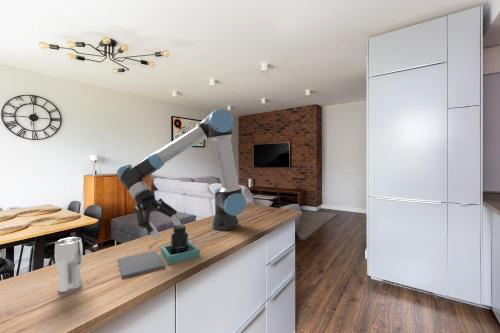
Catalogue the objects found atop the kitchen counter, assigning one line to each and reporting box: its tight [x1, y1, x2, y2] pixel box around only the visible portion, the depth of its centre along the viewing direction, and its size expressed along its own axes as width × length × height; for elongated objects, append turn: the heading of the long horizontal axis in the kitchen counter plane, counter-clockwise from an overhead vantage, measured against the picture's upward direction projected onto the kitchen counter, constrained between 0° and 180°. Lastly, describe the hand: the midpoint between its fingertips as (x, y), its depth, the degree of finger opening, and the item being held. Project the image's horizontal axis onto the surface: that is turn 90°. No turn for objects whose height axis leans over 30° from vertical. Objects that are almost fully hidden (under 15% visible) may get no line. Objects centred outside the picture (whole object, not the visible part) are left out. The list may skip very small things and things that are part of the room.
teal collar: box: [160, 240, 201, 266], centre depth 98 cm, size 12×12×3 cm
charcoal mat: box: [117, 250, 166, 279], centre depth 90 cm, size 14×16×1 cm
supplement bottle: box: [170, 224, 189, 255], centre depth 98 cm, size 7×7×12 cm
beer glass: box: [54, 236, 84, 294], centre depth 74 cm, size 7×7×15 cm
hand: (170, 232), depth 99 cm, fingers open, 13 cm apart
